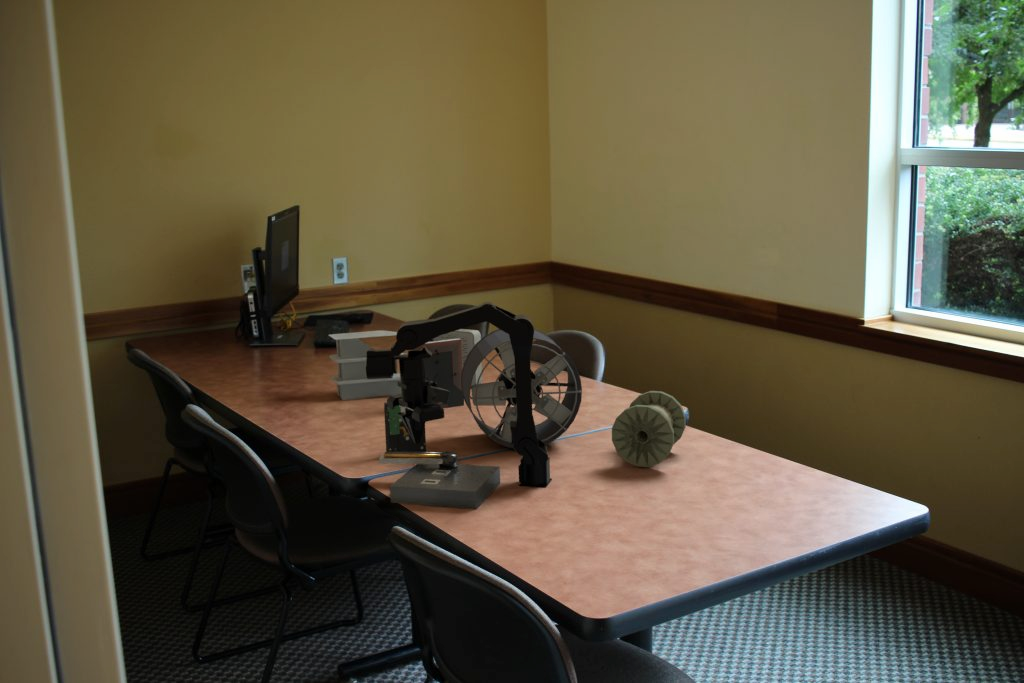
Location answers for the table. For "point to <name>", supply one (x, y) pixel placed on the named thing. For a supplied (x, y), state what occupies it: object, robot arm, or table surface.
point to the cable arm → (421, 458)
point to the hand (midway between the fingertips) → (417, 443)
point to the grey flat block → (446, 485)
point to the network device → (465, 346)
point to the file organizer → (359, 368)
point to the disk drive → (400, 433)
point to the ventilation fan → (505, 388)
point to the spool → (648, 428)
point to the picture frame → (445, 369)
